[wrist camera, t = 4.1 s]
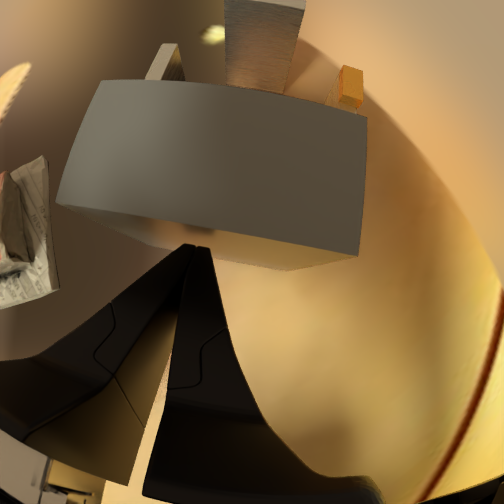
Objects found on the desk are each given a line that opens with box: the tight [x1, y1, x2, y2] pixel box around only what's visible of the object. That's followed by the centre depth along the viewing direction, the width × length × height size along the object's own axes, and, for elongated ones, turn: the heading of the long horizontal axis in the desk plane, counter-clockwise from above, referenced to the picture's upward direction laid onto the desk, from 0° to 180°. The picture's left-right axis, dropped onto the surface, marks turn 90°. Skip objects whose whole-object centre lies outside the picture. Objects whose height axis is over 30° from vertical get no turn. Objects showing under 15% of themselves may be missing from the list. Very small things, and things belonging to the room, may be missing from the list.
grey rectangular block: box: [55, 80, 367, 271], centre depth 12 cm, size 4×8×10 cm, turn 80°
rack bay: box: [145, 0, 363, 114], centre depth 14 cm, size 10×12×8 cm
